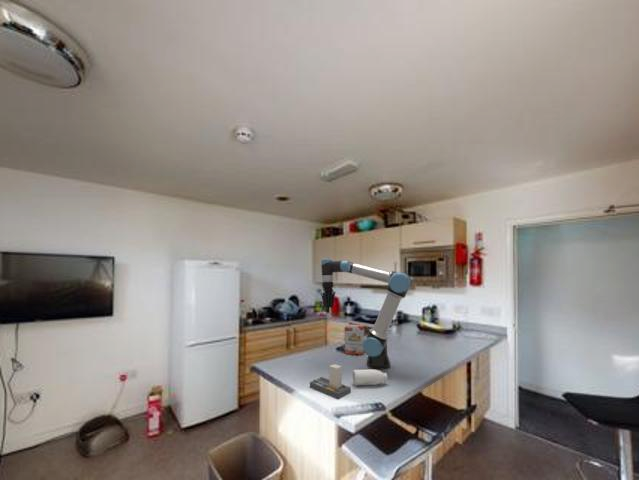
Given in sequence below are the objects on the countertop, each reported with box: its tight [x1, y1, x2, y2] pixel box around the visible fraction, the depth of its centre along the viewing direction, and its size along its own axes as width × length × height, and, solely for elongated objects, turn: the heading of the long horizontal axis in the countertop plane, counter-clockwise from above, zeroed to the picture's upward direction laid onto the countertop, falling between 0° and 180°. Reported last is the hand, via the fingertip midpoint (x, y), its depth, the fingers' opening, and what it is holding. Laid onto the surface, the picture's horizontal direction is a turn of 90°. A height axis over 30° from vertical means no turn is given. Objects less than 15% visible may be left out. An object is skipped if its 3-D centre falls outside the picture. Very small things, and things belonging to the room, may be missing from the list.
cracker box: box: [344, 323, 365, 356], centre depth 207 cm, size 14×6×21 cm, turn 81°
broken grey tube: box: [351, 368, 389, 387], centre depth 151 cm, size 8×19×8 cm, turn 93°
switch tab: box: [328, 363, 343, 388], centre depth 143 cm, size 5×4×10 cm
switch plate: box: [309, 376, 352, 400], centre depth 145 cm, size 20×10×4 cm, turn 46°
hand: (329, 317), depth 182 cm, fingers closed
